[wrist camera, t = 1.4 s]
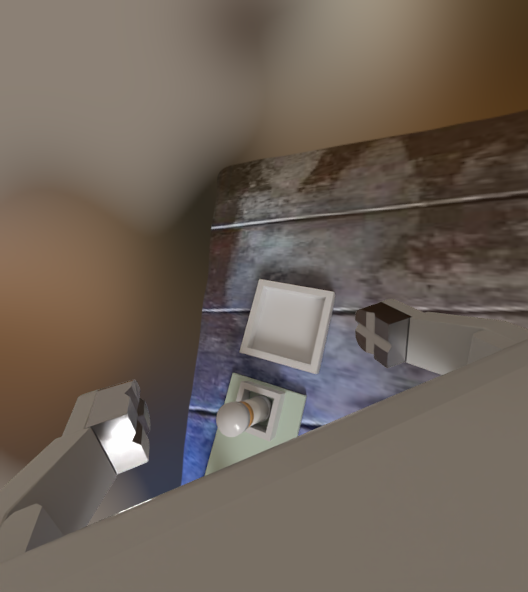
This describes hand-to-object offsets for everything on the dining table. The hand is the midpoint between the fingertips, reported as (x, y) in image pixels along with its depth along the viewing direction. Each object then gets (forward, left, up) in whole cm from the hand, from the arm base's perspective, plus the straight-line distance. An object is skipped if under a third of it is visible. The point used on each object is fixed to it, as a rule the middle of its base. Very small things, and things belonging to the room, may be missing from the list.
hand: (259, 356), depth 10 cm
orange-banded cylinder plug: (+9, +8, -32) cm, 34 cm away
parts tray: (+8, -5, -33) cm, 34 cm away
